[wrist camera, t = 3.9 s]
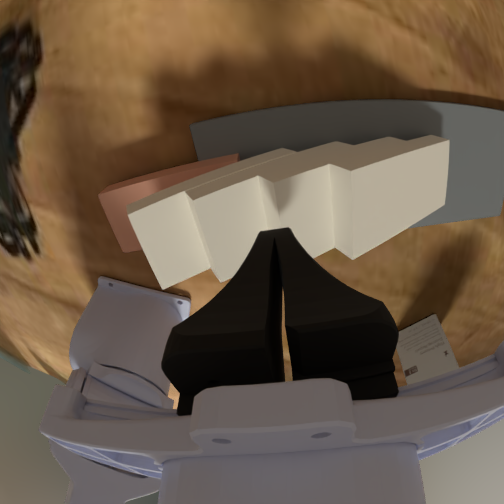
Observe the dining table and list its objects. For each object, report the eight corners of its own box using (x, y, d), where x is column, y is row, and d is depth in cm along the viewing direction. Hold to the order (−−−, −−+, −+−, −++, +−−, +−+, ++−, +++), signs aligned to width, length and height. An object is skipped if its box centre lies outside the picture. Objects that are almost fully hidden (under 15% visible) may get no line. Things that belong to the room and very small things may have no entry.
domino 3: (389, 202, 19) (273, 257, 16) (388, 136, 16) (257, 175, 14) (405, 210, 18) (288, 270, 15) (407, 141, 15) (273, 182, 12)
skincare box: (435, 311, 27) (474, 400, 17) (438, 329, 29) (471, 410, 19) (389, 335, 29) (417, 428, 19) (397, 351, 31) (421, 435, 21)
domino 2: (341, 209, 19) (211, 268, 17) (336, 141, 17) (184, 191, 14) (357, 217, 18) (220, 282, 16) (353, 145, 15) (192, 200, 13)
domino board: (225, 247, 23) (224, 253, 22) (191, 123, 17) (189, 125, 16) (495, 211, 19) (499, 215, 19) (506, 111, 14) (512, 113, 13)
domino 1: (293, 215, 20) (157, 275, 17) (282, 147, 17) (126, 205, 14) (306, 224, 19) (162, 289, 16) (296, 151, 16) (127, 214, 13)
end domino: (253, 220, 20) (130, 241, 21) (238, 153, 17) (107, 186, 19) (252, 231, 19) (123, 253, 20) (236, 160, 16) (97, 195, 17)
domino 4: (428, 197, 18) (334, 246, 16) (431, 134, 16) (328, 163, 13) (444, 204, 17) (352, 259, 15) (449, 139, 14) (350, 171, 12)
